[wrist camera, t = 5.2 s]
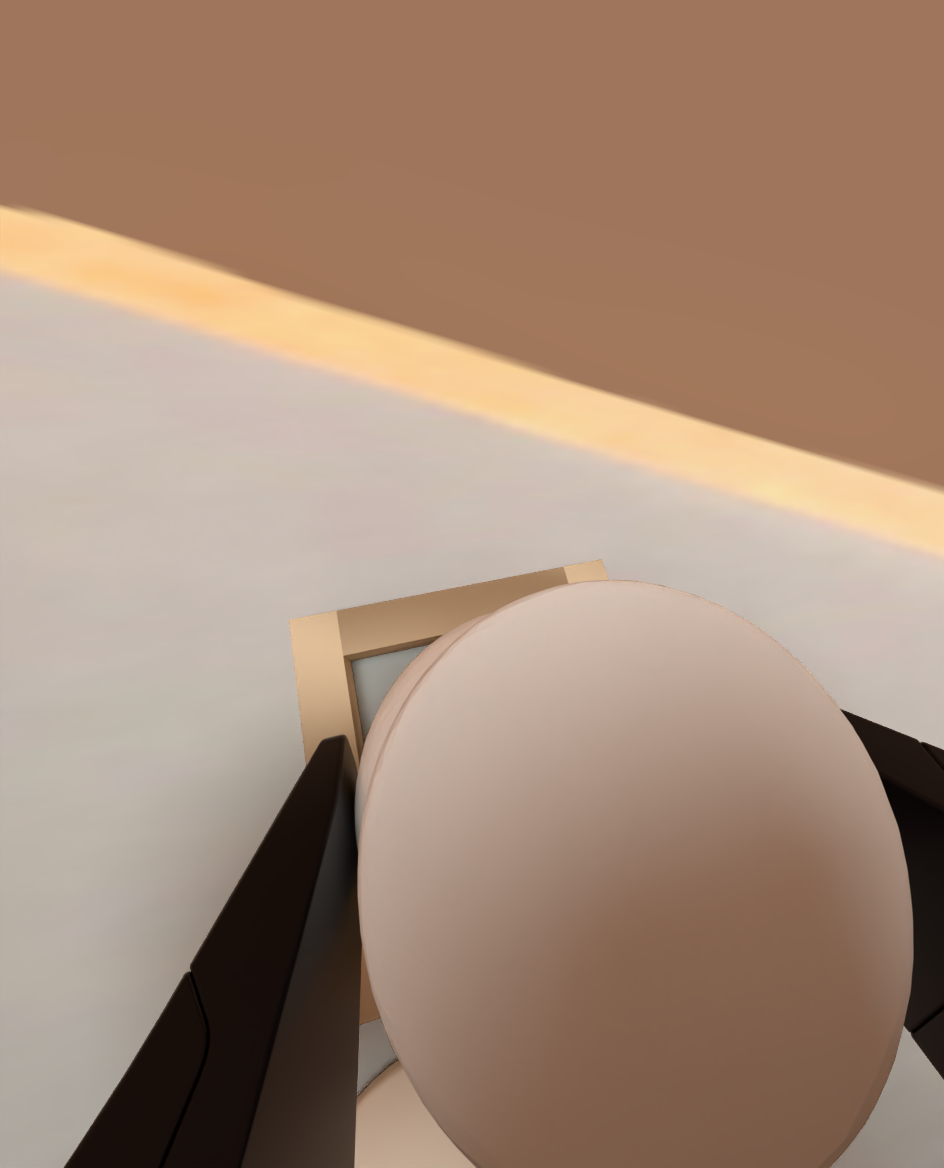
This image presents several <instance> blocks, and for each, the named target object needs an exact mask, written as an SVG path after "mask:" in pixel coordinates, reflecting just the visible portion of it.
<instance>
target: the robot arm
mask: <svg viewBox="0 0 944 1168" xmlns="http://www.w3.org/2000/svg"><path fill="white" fill-rule="evenodd" d="M840 710H841V711H842V713H843V714H844V716H845V717H846V718H847V720H848V721H849V722H850V724H851V725H852V727H853V728H854V730H855V732H856V733H857V735H858V736H859V738H860V740H861V741H862V743H863V745H864V747H865V749H866V751H867V752H868V754H869V756H870V758H871V760H872V762H873V764H874V766H875V767H876V769H877V771H878V773H879V776H880V779H881V782H882V784H883V787H884V790H885V792H886V795H887V798H888V801H889V803H890V806H891V809H892V811H893V814H894V817H895V819H896V822H897V825H898V828H899V832H900V837H901V841H902V846H903V850H904V855H905V859H906V864H907V869H908V877H909V885H910V892H911V903H912V913H913V970H912V981H911V992H910V997H909V1002H908V1007H907V1011H906V1016H905V1021H904V1026H905V1028H906V1029H907V1030H908V1031H909V1032H911V1036H912V1038H913V1039H914V1040H915V1042H916V1043H917V1044H918V1046H919V1047H920V1048H921V1050H922V1051H923V1052H924V1054H925V1055H926V1056H927V1058H928V1059H929V1061H930V1062H931V1063H932V1065H933V1066H934V1067H935V1069H936V1070H937V1071H938V1073H939V1074H940V1075H941V1077H942V1078H943V1079H944V750H943V749H940V748H938V747H935V746H933V745H930V744H928V743H925V742H919V741H918V740H917V739H915V738H912V737H910V736H907V735H905V734H902V733H900V732H897V731H895V730H892V729H890V728H887V727H884V726H882V725H879V724H877V723H874V722H872V721H869V720H867V719H864V718H862V717H859V716H857V715H854V714H852V713H849V712H847V711H844V710H842V709H840ZM357 776H358V771H357V766H356V762H355V759H354V756H353V753H352V750H351V747H350V744H349V741H348V738H347V736H346V735H344V734H340V735H336V736H332V737H328V738H324V739H323V740H322V741H321V742H320V743H319V745H318V746H317V748H316V750H315V752H314V753H313V755H312V757H311V758H310V760H309V762H308V764H307V765H306V767H305V769H304V770H303V772H302V774H301V776H300V777H299V779H298V781H297V782H296V784H295V786H294V788H293V789H292V791H291V793H290V794H289V796H288V798H287V800H286V801H285V803H284V805H283V806H282V808H281V810H280V812H279V813H278V815H277V817H276V819H275V820H274V822H273V824H272V825H271V827H270V829H269V831H268V832H267V834H266V836H265V837H264V839H263V841H262V843H261V844H260V846H259V848H258V849H257V851H256V853H255V855H254V856H253V858H252V860H251V861H250V863H249V865H248V867H247V868H246V870H245V872H244V873H243V875H242V877H241V879H240V880H239V882H238V884H237V885H236V887H235V889H234V891H233V892H232V894H231V896H230V897H229V899H228V901H227V903H226V904H225V906H224V908H223V909H222V911H221V913H220V915H219V916H218V918H217V920H216V922H215V923H214V925H213V927H212V928H211V930H210V932H209V934H208V935H207V937H206V939H205V940H204V942H203V944H202V946H201V947H200V949H199V951H198V952H197V954H196V956H195V958H194V959H193V961H192V963H191V964H190V970H191V972H190V971H189V972H186V973H185V974H184V976H183V978H182V979H181V981H180V983H179V985H178V986H177V988H176V990H175V991H174V993H173V995H172V997H171V998H170V1000H169V1002H168V1003H167V1005H166V1007H165V1009H164V1010H163V1012H162V1014H161V1015H160V1017H159V1019H158V1020H157V1022H156V1023H155V1025H154V1027H153V1028H152V1030H151V1032H150V1033H149V1035H148V1037H147V1038H146V1040H145V1042H144V1043H143V1045H142V1047H141V1048H140V1050H139V1052H138V1053H137V1055H136V1056H135V1058H134V1060H133V1061H132V1063H131V1065H130V1066H129V1068H128V1070H127V1071H126V1073H125V1074H124V1076H123V1078H122V1079H121V1081H120V1082H119V1084H118V1085H117V1087H116V1088H115V1090H114V1091H113V1093H112V1095H111V1096H110V1098H109V1099H108V1101H107V1102H106V1104H105V1105H104V1107H103V1108H102V1110H101V1111H100V1113H99V1115H98V1116H97V1118H96V1119H95V1121H94V1122H93V1124H92V1125H91V1127H90V1128H89V1130H88V1131H87V1133H86V1135H85V1136H84V1138H83V1139H82V1141H81V1142H80V1144H79V1145H78V1147H77V1148H76V1150H75V1151H74V1153H73V1154H72V1156H71V1157H70V1159H69V1160H68V1162H67V1163H66V1165H65V1166H64V1168H354V1165H355V1136H356V1107H357V1077H358V1048H359V1019H360V990H361V961H362V939H361V933H360V920H359V907H358V848H357V843H356V833H355V807H354V805H355V792H356V781H357Z"/></svg>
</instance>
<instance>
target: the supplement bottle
mask: <svg viewBox="0 0 944 1168" xmlns="http://www.w3.org/2000/svg"><path fill="white" fill-rule="evenodd" d="M354 807H355V833H356V843H357V848H358V907H359V920H360V933H361V939H362V944H363V950H364V955H365V961H366V966H367V971H368V976H369V980H370V985H371V989H372V994H373V997H374V999H375V1002H376V1005H377V1008H378V1011H379V1014H380V1017H381V1019H382V1022H383V1025H384V1028H385V1030H386V1033H387V1036H388V1038H389V1041H390V1044H391V1046H392V1048H393V1050H394V1052H395V1054H396V1056H397V1058H398V1060H399V1061H400V1063H401V1065H402V1067H403V1069H404V1071H405V1073H406V1075H407V1076H408V1078H409V1080H410V1082H411V1084H412V1085H413V1087H414V1089H415V1091H416V1092H417V1094H418V1096H419V1098H420V1099H421V1101H422V1103H423V1104H424V1106H425V1107H426V1109H427V1110H428V1111H429V1113H430V1114H431V1116H432V1117H433V1119H434V1120H435V1121H436V1123H437V1124H438V1126H439V1127H440V1128H441V1129H442V1131H443V1132H444V1133H445V1134H446V1135H447V1137H448V1138H449V1139H450V1140H451V1141H452V1143H453V1144H454V1145H455V1146H456V1147H457V1148H458V1149H459V1150H460V1151H461V1152H462V1154H463V1155H464V1156H465V1157H466V1158H467V1159H468V1160H469V1161H470V1162H471V1163H472V1164H473V1165H474V1166H475V1167H476V1168H830V1167H831V1165H832V1164H833V1163H834V1162H835V1161H836V1160H837V1159H838V1158H839V1157H840V1156H841V1155H842V1154H843V1152H844V1151H845V1150H846V1149H847V1148H848V1146H849V1145H850V1144H851V1142H852V1141H853V1140H854V1139H855V1137H856V1136H857V1134H858V1133H859V1132H860V1130H861V1129H862V1128H863V1126H864V1125H865V1123H866V1121H867V1120H868V1118H869V1116H870V1114H871V1112H872V1111H873V1109H874V1107H875V1105H876V1103H877V1101H878V1099H879V1097H880V1094H881V1092H882V1090H883V1088H884V1086H885V1084H886V1081H887V1079H888V1076H889V1074H890V1071H891V1069H892V1066H893V1063H894V1061H895V1057H896V1053H897V1050H898V1046H899V1042H900V1038H901V1034H902V1030H903V1026H904V1021H905V1016H906V1011H907V1007H908V1002H909V997H910V992H911V981H912V970H913V913H912V903H911V892H910V885H909V877H908V869H907V864H906V859H905V855H904V850H903V846H902V841H901V837H900V832H899V828H898V825H897V822H896V819H895V817H894V814H893V811H892V809H891V806H890V803H889V801H888V798H887V795H886V792H885V790H884V787H883V784H882V782H881V779H880V776H879V773H878V771H877V769H876V767H875V766H874V764H873V762H872V760H871V758H870V756H869V754H868V752H867V751H866V749H865V747H864V745H863V743H862V741H861V740H860V738H859V736H858V735H857V733H856V732H855V730H854V728H853V727H852V725H851V724H850V722H849V721H848V720H847V718H846V717H845V716H844V714H843V713H842V711H841V710H840V709H839V707H838V706H837V705H836V703H835V702H834V700H833V699H832V697H831V696H830V695H829V694H828V693H827V692H826V691H825V690H824V688H823V687H822V686H821V685H820V684H819V682H818V681H817V680H816V679H815V678H814V676H813V675H812V674H811V673H810V672H809V671H808V670H807V669H806V668H805V666H804V665H803V664H802V663H801V662H799V661H798V660H797V659H796V658H795V657H794V656H793V655H792V654H791V653H790V652H788V651H787V650H786V649H785V648H784V647H783V646H782V645H781V644H779V643H778V642H777V641H775V640H774V639H773V638H771V637H770V636H769V635H767V634H766V633H765V632H763V631H762V630H761V629H759V628H758V627H756V626H755V625H753V624H752V623H750V622H748V621H747V620H745V619H744V618H742V617H740V616H738V615H736V614H734V613H733V612H731V611H729V610H727V609H725V608H723V607H721V606H719V605H717V604H715V603H712V602H710V601H708V600H705V599H703V598H701V597H698V596H696V595H694V594H690V593H686V592H682V591H679V590H676V589H672V588H669V587H666V586H661V585H655V584H650V583H644V582H638V581H626V580H594V581H583V582H575V583H569V584H564V585H559V586H556V587H552V588H548V589H545V590H542V591H539V592H536V593H533V594H530V595H528V596H525V597H523V598H520V599H518V600H515V601H513V602H511V603H509V604H507V605H505V606H503V607H501V608H499V609H497V610H496V611H494V612H491V613H488V614H485V615H482V616H479V617H476V618H474V619H472V620H469V621H467V622H465V623H463V624H461V625H459V626H457V627H456V628H454V629H452V630H450V631H449V632H447V633H445V634H444V635H442V636H441V637H440V638H438V639H437V640H436V641H434V642H433V643H431V644H430V645H429V646H428V647H427V648H425V649H424V650H423V651H422V652H421V653H420V654H419V655H418V656H417V657H416V658H415V659H414V660H413V661H412V662H411V663H410V664H409V665H408V666H407V667H406V668H405V670H404V671H403V672H402V673H401V675H400V676H399V677H398V678H397V680H396V681H395V683H394V684H393V685H392V687H391V688H390V690H389V691H388V693H387V694H386V696H385V697H384V699H383V701H382V703H381V705H380V707H379V709H378V711H377V713H376V715H375V717H374V719H373V722H372V724H371V727H370V730H369V732H368V735H367V738H366V740H365V744H364V748H363V752H362V756H361V760H360V765H359V770H358V776H357V781H356V792H355V805H354Z"/></svg>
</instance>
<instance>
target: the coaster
mask: <svg viewBox="0 0 944 1168" xmlns="http://www.w3.org/2000/svg"><path fill="white" fill-rule="evenodd" d="M354 1168H476V1167H475V1166H474V1165H473V1164H472V1163H471V1162H470V1161H469V1160H468V1159H467V1158H466V1157H465V1156H464V1155H463V1154H462V1152H461V1151H460V1150H459V1149H458V1148H457V1147H456V1146H455V1145H454V1144H453V1143H452V1141H451V1140H450V1139H449V1138H448V1137H447V1135H446V1134H445V1133H444V1132H443V1131H442V1129H441V1128H440V1127H439V1126H438V1124H437V1123H436V1121H435V1120H434V1119H433V1117H432V1116H431V1114H430V1113H429V1111H428V1110H427V1109H426V1107H425V1106H424V1104H423V1103H422V1101H421V1099H420V1098H419V1096H418V1094H417V1092H416V1091H415V1089H414V1087H413V1085H412V1084H411V1082H410V1080H409V1078H408V1076H407V1075H406V1073H405V1071H404V1069H403V1067H402V1065H401V1063H400V1061H399V1060H398V1061H396V1062H395V1063H393V1064H392V1065H390V1066H389V1067H388V1068H387V1069H386V1070H384V1071H383V1072H382V1073H381V1074H380V1075H379V1076H378V1077H377V1078H375V1079H374V1080H373V1081H372V1082H371V1083H370V1084H369V1085H368V1086H367V1087H366V1089H365V1090H364V1091H363V1092H362V1093H361V1094H360V1095H359V1096H358V1097H357V1107H356V1136H355V1165H354Z"/></svg>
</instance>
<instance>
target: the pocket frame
mask: <svg viewBox="0 0 944 1168" xmlns="http://www.w3.org/2000/svg"><path fill="white" fill-rule="evenodd" d="M594 580H608V577H607V573H606V570H605V567H604V564H603V561H602V559H601V560H596V561H591V562H586V563H581V564H576V565H570V566H565V567H560V568H555V569H550V570H545V571H539V572H534V573H529V574H524V575H519V576H514V577H509V578H503V579H498V580H493V581H488V582H483V583H478V584H472V585H467V586H462V587H457V588H452V589H447V590H442V591H436V592H431V593H426V594H421V595H416V596H411V597H405V598H400V599H395V600H390V601H385V602H380V603H375V604H369V605H364V606H359V607H354V608H349V609H344V610H338V611H333V612H328V613H323V614H318V615H313V616H308V617H302V618H297V619H292V620H289V625H290V633H291V641H292V650H293V658H294V667H295V675H296V683H297V692H298V700H299V708H300V717H301V725H302V734H303V742H304V750H305V759H306V765H307V764H308V762H309V760H310V758H311V757H312V755H313V753H314V752H315V750H316V748H317V746H318V745H319V743H320V742H321V741H322V740H323V739H324V738H328V737H332V736H336V735H340V734H344V735H346V736H347V738H348V741H349V744H350V747H351V750H352V753H353V756H354V759H355V762H356V766H357V771H358V770H359V765H360V760H361V756H362V752H363V748H364V743H363V736H362V730H361V723H360V717H359V710H358V704H357V698H356V691H355V685H354V678H353V672H352V665H351V661H354V660H358V659H363V658H368V657H372V656H377V655H382V654H386V653H391V652H396V651H400V650H405V649H410V648H414V647H419V646H424V645H428V644H431V643H433V642H434V641H436V640H437V639H438V638H440V637H441V636H442V635H444V634H445V633H447V632H449V631H450V630H452V629H454V628H456V627H457V626H459V625H461V624H463V623H465V622H467V621H469V620H472V619H474V618H476V617H479V616H482V615H485V614H488V613H491V612H494V611H496V610H497V609H499V608H501V607H503V606H505V605H507V604H509V603H511V602H513V601H515V600H518V599H520V598H523V597H525V596H528V595H530V594H533V593H536V592H539V591H542V590H545V589H548V588H552V587H556V586H559V585H564V584H569V583H575V582H583V581H594ZM379 1018H381V1017H380V1014H379V1011H378V1008H377V1005H376V1002H375V999H374V997H373V994H372V989H371V985H370V980H369V976H368V971H367V966H366V961H365V955H364V950H363V944H362V961H361V990H360V1019H359V1025H362V1024H364V1023H367V1022H370V1021H373V1020H376V1019H379Z"/></svg>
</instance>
